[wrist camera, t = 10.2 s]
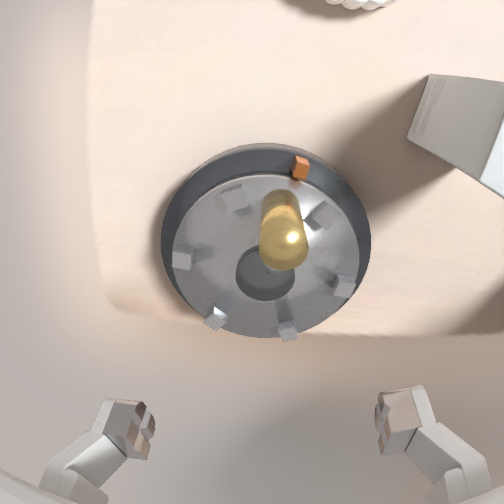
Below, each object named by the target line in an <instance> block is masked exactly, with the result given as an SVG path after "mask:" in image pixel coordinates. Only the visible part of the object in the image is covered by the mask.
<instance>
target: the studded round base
mask: <svg viewBox="0 0 504 504" xmlns="http://www.w3.org/2000/svg"><path fill="white" fill-rule="evenodd" d="M172 267H173V271H174V275H175V278H176V282H177V284H178V286H179V288H180V290H181V292H182V294H183V295H184V297H185V298H186V300H187V301H188V302H189V304H190V305H191V306H192V307H193V308H194V309H195V310H196V311H197V312H198V313H199V314H200V315H201V316H203V317H204V322H203V323H205V324H206V325H208V326H209V327H211V328H213V329H214V330H216V331H217V330H218V329H219V328H223V329H225V330H227V331H230V332H233V333H236V334H240V335H245V336H250V337H259V338H273V337H281V338H282V341H283V342H284V341H288V340H293V339H297V338H299V337H298V333H300V332H303V331H305V330H308V329H310V328H312V327H314V326H316V325H318V324H320V323H321V322H323V321H324V320H326V319H327V318H329V317H330V316H331V315H332V314H333V313H334V312H335V311H337V310H338V308H339V307H340V306H341V305H342V304H343V303H344V301H345V300H346V298H350V297H351V295H352V293H353V290H354V288H355V286H356V282H355V280H356V277H357V274H358V268H359V249H358V243H357V239H356V236H355V233H354V231H353V228H352V226H351V224H350V222H349V220H348V218H347V216H346V214H345V213H344V211H343V210H342V208H341V207H340V205H339V204H338V203H337V202H336V201H335V199H334V198H333V197H332V196H331V195H330V194H328V193H327V192H326V191H325V190H324V189H322V188H321V187H319V186H318V185H316V184H314V183H313V182H311V181H309V180H307V179H306V180H302V179H299V178H295V177H293V176H292V174H290V173H286V172H279V171H252V172H245V173H241V174H237V175H234V176H231V177H229V178H226V179H224V180H222V181H220V182H218V183H216V184H215V185H213V186H211V187H210V188H209V189H207V190H206V191H205V192H204V193H202V194H201V195H200V196H199V197H198V198H197V200H196V201H195V202H194V203H193V204H192V206H191V207H190V208H189V210H188V211H187V213H186V215H185V216H184V218H183V220H182V222H181V224H180V226H179V228H178V230H177V232H176V236H175V239H174V242H173V249H172Z"/></svg>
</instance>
